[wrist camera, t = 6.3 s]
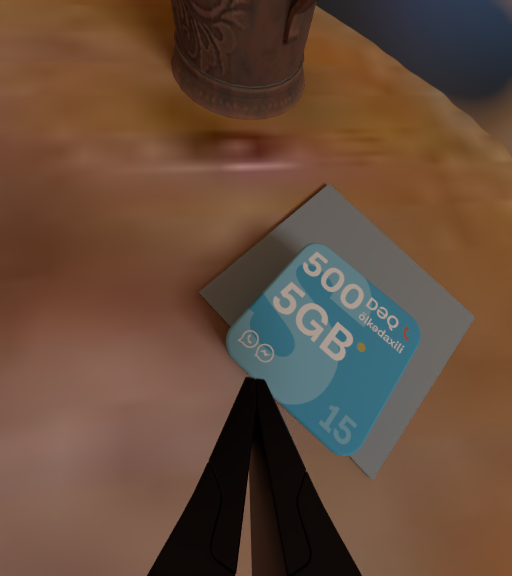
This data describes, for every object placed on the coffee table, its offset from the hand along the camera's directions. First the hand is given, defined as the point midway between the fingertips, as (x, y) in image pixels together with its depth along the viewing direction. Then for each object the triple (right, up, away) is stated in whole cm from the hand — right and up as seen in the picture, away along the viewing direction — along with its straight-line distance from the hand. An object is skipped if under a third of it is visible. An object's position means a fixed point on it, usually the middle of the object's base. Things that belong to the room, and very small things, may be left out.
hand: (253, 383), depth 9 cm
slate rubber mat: (+9, +2, +13) cm, 16 cm away
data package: (+1, -4, +7) cm, 9 cm away
